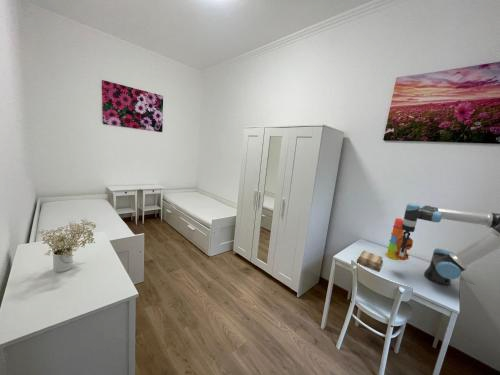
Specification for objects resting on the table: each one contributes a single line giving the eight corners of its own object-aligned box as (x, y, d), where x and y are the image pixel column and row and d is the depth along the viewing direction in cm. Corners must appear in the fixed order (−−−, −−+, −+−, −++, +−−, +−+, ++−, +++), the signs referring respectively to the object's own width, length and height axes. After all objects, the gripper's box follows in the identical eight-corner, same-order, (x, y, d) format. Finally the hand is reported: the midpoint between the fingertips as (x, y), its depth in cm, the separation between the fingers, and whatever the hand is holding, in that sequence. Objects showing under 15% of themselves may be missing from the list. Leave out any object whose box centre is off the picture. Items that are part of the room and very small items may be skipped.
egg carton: (382, 263, 174) (384, 257, 173) (379, 271, 162) (380, 264, 161) (361, 256, 184) (362, 249, 183) (356, 262, 172) (357, 256, 170)
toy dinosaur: (413, 263, 153) (418, 239, 149) (396, 260, 155) (401, 237, 151) (405, 255, 163) (410, 233, 160) (389, 253, 165) (394, 231, 162)
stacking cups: (400, 261, 181) (410, 222, 174) (386, 257, 185) (395, 219, 178) (398, 255, 190) (407, 219, 183) (384, 252, 195) (393, 216, 187)
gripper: (403, 220, 164) (397, 247, 169) (400, 227, 147) (394, 257, 152) (416, 222, 160) (409, 250, 164) (414, 230, 143) (407, 261, 147)
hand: (402, 253), depth 158 cm, fingers closed on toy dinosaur, 10 cm apart
